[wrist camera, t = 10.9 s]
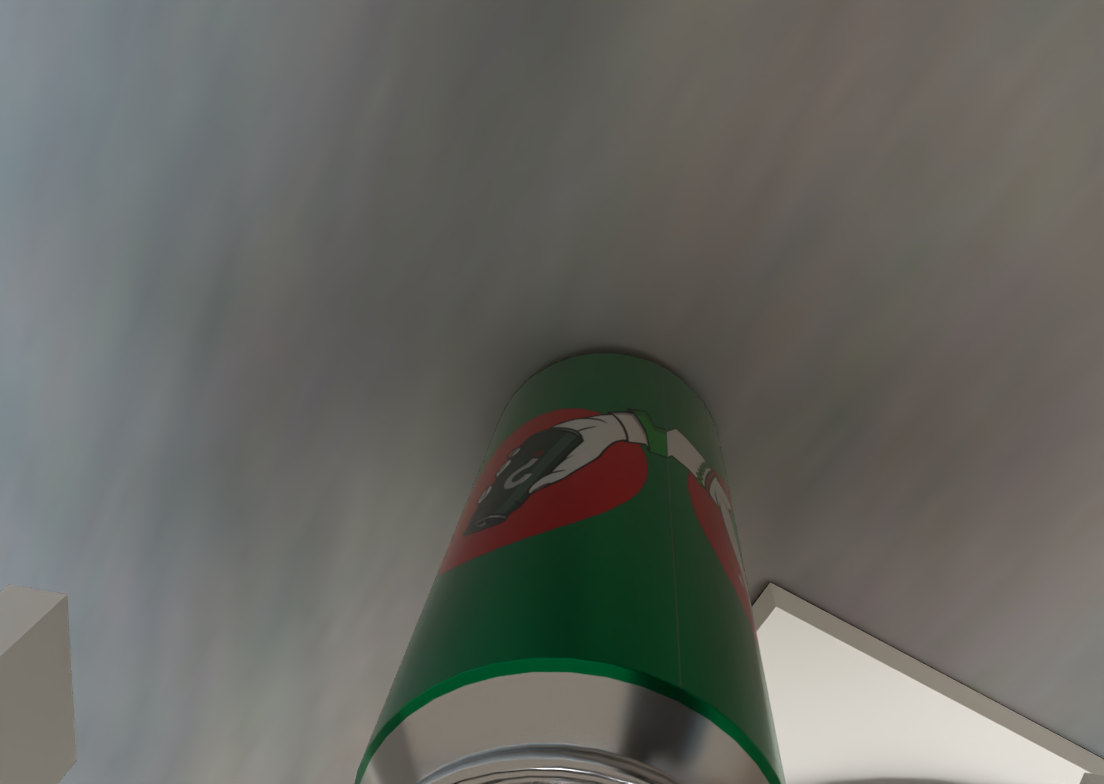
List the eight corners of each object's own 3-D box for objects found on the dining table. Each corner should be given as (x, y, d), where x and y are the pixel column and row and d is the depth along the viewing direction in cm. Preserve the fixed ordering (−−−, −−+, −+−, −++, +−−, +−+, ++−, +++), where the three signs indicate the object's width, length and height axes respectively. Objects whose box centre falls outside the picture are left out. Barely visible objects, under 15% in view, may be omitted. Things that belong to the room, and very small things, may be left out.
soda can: (461, 486, 21) (250, 974, 10) (560, 303, 19) (440, 646, 8) (648, 581, 21) (652, 1156, 10) (763, 411, 20) (919, 881, 8)
